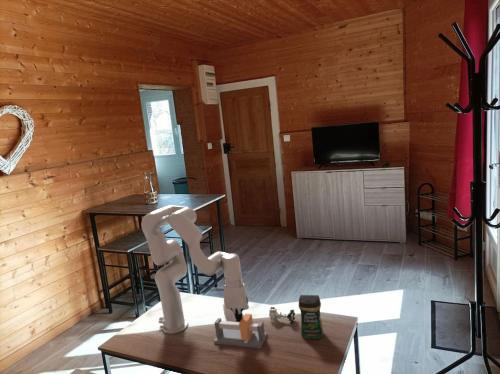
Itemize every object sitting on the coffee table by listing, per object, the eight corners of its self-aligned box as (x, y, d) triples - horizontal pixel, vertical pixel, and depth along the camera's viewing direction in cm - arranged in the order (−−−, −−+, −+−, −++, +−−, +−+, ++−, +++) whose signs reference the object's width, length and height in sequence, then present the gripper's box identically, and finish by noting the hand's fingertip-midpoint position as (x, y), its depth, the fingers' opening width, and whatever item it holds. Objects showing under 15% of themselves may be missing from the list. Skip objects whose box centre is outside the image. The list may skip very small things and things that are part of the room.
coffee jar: (300, 340, 164) (296, 300, 161) (302, 329, 171) (298, 291, 168) (323, 340, 161) (319, 300, 158) (324, 330, 169) (320, 291, 166)
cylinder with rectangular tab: (226, 308, 200) (223, 287, 198) (242, 308, 198) (239, 286, 196) (222, 317, 191) (219, 295, 189) (240, 317, 190) (236, 294, 188)
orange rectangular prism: (241, 339, 165) (239, 323, 164) (247, 329, 172) (245, 313, 171) (247, 340, 164) (245, 323, 163) (253, 330, 171) (251, 314, 170)
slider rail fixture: (214, 343, 169) (211, 326, 168) (223, 331, 178) (220, 314, 177) (260, 348, 161) (258, 330, 160) (267, 335, 171) (265, 317, 169)
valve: (267, 323, 180) (291, 326, 175) (266, 311, 179) (290, 313, 174) (272, 316, 186) (295, 319, 181) (271, 304, 185) (294, 306, 180)
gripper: (214, 285, 164) (220, 323, 167) (246, 286, 159) (252, 326, 162) (221, 277, 171) (227, 315, 174) (252, 278, 166) (257, 317, 169)
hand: (239, 320), depth 168 cm, fingers closed
